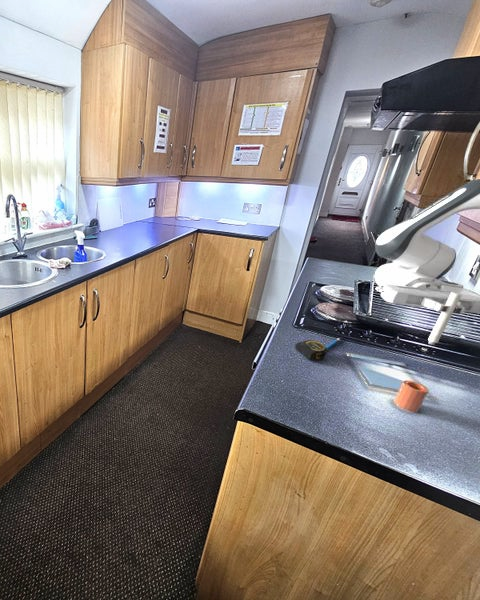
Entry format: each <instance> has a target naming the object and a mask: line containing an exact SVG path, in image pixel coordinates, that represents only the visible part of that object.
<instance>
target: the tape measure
mask: <svg viewBox="0 0 480 600" xmlns="http://www.w3.org/2000/svg"><path fill="white" fill-rule="evenodd" d="M326 346H327V345H325V344H324V343H322V342H320V341H317V340H313V339H312V340H311V339H310V340H309V339H307V340H303V341H299V342H297V343H295V345H294V349H295V351H297V352H298V353H300V354H301V355H302V356H304V357H305V358H306V359H307V360H308V361H310V362H313V361H320V360H323V359H324V358H325V357H326V355H327V353H328V349H327V348H326Z"/></svg>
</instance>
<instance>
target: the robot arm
mask: <svg viewBox="0 0 480 600" xmlns="http://www.w3.org/2000/svg"><path fill="white" fill-rule="evenodd" d="M469 210H480V178H477V179H474V180H471V181H469V182H466V183H465V184H463V185H461V186H459V187H458V188H456V189H454V190H452V191H450V192H449V193H448V194H445V195H444V196H442V197H441V198H439V199H437V200H436V201H434V202H433V203H431V204H430V205H428V206H426V207H425V208H423V209H421V210H420V211H418V212H416V213H415V214H413V215H412V216H410V217H409V218H407V219H405V220H403V221H401V222H399V223H396V224H395V225H393V226H391V227H388V228H387V229H386V230H384V231H382V232H381V233H380V234H379V235H378V236H377V238H376V239H375V244H374V247H375V252H376V254H377V256H378V257H380V258H383V259H385V260H387V261H391V262H389V263H384V264H381V265H380V266H379V267H377V269H376V270H375V273H374V282H375V284H376V285H377V286H376V287H375V290H376V291H377V292H379V293H380V297H381V298H382V299H383V300H384V301H385V302H386V303H389V304H393V305H400V306H407V307H410V308H427V309H431V310H434V311H436V312H440V313H441V312H446V311H447V309H448V305H446V302H447V300H448V298H449V296H450V294H451V292H457V293H461V294H462V296H461V298H460V300H459V302H458V304H457V306H456V308H455V310H454V312H453V314H459V315H462V314H464V313H471V314H480V294H479V293H477V292H475V291H472V290H471V289H468V288H464V285H463V284H461V283H458V282H452V281H448V280H442V279H441V278H442V277H444V276H446V274H448V273H449V272H450V271H451V270H452V269H453V267H454V266H455V263H456V260H457V251H456V250H455V248H453V247H451V246H449V245H447V244H445V243H443V242H442V241H439V240H436V239H434V238H432V237H430V236H428V235H427V234H425V233H424V232H426V231H428V230H430V229H432V228H433V227H435V226H436V225H438V224H441V223H442V222H444V221H446V220H447V219H449V218H451V217H452V216H454V215H456V214H459V213H461V212H464V211H469Z"/></svg>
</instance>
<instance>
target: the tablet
mask: <svg viewBox="0 0 480 600" xmlns="http://www.w3.org/2000/svg"><path fill="white" fill-rule="evenodd" d="M344 354H345V356H346V357H351V358H357V359H363V360H369V361H374V362H378V363H379V362H380V363H386V364H392V365H397V366H403V367H407V365H406V364H405V363H404V362H403V361H402V362H401V361H397V360H396V361H395V360H391V359H385V358H379V357H374V356H368V355H363V354H357V353H353V352H345V353H344ZM358 367H359V368H360V369H357V371H358V373H359V375H360V377H361V378H362V380H363V381H364V383H365V385H366V386H367V387H368V388H371V389H378V390H383V391H388V392H394V393H398V391H399V389H400V387H401V385H402V383H403V381H404V380H402V379H399V378H396V377H393V376H390V375H388V374H384V373H381V372H379V371H376V370H373V369H370V368H367V367H364V366H361V365H358ZM425 399H429V400H435V401H439V399H438V398H437V397H436V396H433V395H431V394H430V393H429V392H428V394H427V396H426V398H425Z"/></svg>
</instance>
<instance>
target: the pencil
mask: <svg viewBox="0 0 480 600" xmlns="http://www.w3.org/2000/svg"><path fill="white" fill-rule="evenodd" d="M340 341H341V337H338V338H336V339H335V340H333V341H332V342H331V343H329V344H328V345H325V346H326V348H327V350H328V349H329V348H331V347H332V346H333V345H335V344H336V343H337V342H340Z"/></svg>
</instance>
